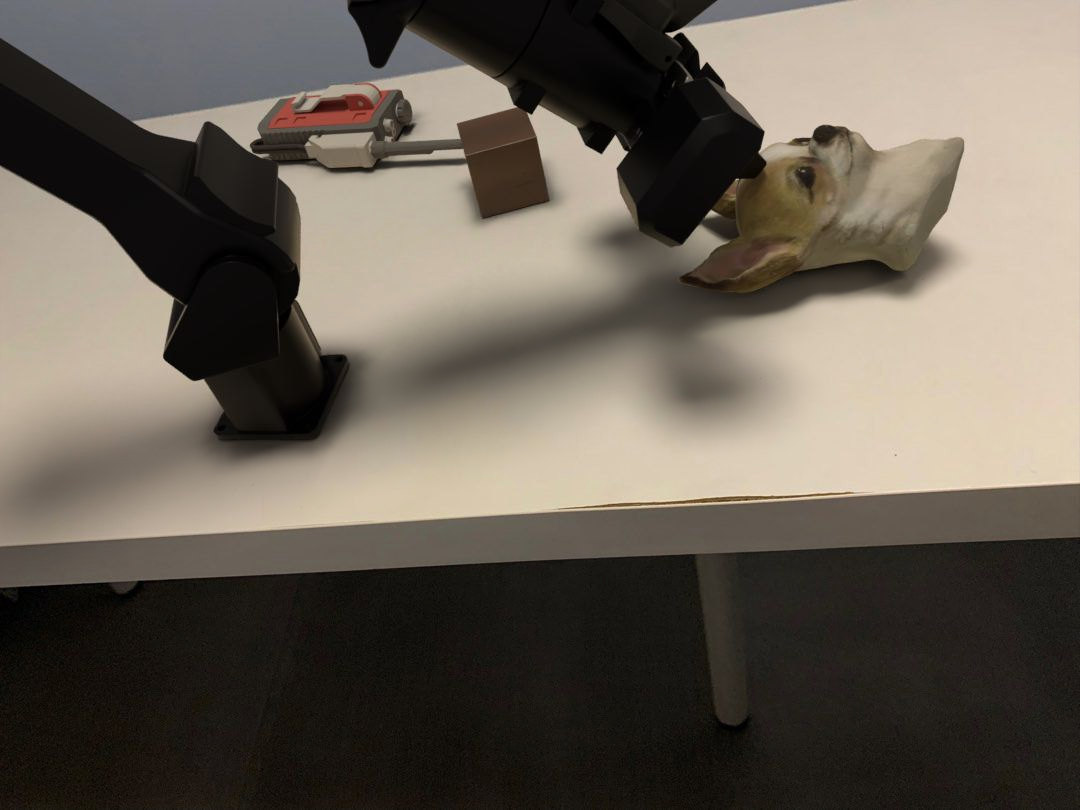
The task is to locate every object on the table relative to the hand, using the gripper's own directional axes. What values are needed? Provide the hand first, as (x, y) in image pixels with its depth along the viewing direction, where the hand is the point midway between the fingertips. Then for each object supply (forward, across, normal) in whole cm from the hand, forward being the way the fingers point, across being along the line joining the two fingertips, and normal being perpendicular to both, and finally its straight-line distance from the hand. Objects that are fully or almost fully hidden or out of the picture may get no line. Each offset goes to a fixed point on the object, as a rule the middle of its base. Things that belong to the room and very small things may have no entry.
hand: (759, 168), depth 46 cm
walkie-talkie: (-11, +29, +21) cm, 38 cm away
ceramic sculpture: (+7, 0, +3) cm, 8 cm away
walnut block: (-4, +16, +14) cm, 22 cm away
